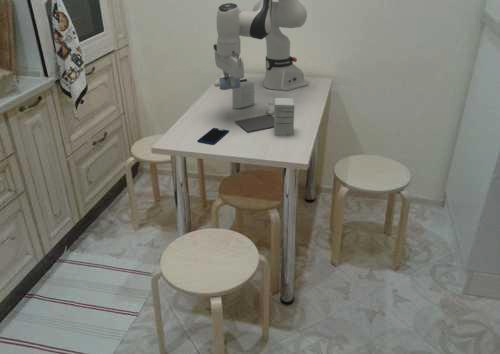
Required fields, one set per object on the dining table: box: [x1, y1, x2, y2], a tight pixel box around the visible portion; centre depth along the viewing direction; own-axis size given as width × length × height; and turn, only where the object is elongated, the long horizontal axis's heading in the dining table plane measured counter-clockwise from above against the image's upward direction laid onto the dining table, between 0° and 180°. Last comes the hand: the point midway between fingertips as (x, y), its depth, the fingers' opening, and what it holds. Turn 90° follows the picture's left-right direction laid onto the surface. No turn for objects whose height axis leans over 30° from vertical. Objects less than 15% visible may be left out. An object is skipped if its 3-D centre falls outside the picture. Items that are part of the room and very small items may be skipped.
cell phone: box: [197, 127, 230, 146], centre depth 182 cm, size 7×14×1 cm, turn 156°
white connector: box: [266, 102, 275, 116], centre depth 202 cm, size 10×3×3 cm, turn 177°
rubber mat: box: [234, 114, 274, 134], centre depth 192 cm, size 16×12×1 cm
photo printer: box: [231, 77, 255, 110], centre depth 207 cm, size 10×4×12 cm, turn 123°
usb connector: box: [213, 75, 247, 91], centre depth 189 cm, size 14×4×4 cm, turn 116°
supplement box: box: [273, 97, 295, 136], centre depth 182 cm, size 7×7×13 cm
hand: (229, 83), depth 189 cm, fingers closed on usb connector, 4 cm apart
